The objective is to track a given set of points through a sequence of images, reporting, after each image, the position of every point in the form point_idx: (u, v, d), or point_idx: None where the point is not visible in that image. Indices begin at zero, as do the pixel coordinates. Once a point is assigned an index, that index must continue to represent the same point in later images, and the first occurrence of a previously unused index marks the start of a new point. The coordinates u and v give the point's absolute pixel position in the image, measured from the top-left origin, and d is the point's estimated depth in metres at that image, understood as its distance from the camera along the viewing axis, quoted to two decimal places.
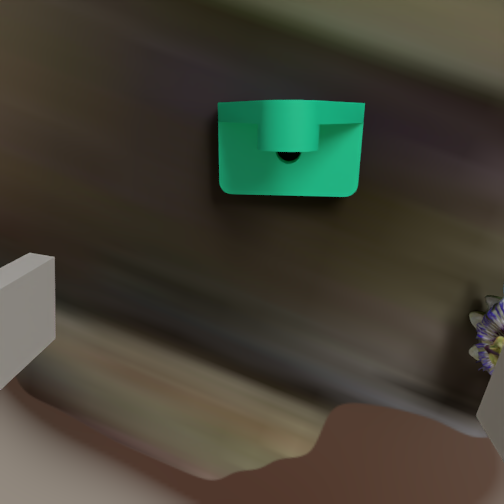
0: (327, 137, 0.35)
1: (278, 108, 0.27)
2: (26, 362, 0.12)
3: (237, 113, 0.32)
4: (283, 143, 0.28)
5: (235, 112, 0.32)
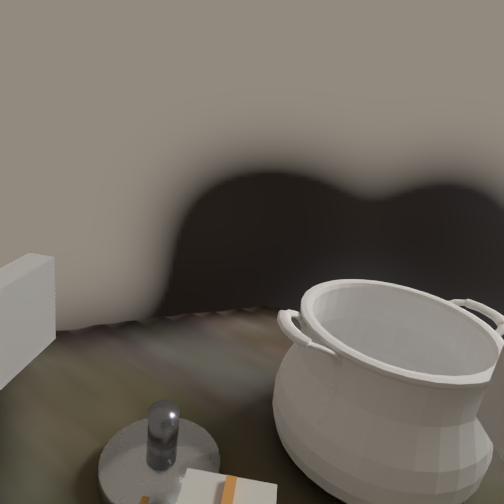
0: None
1: None
2: (26, 361, 0.12)
3: None
4: None
5: None
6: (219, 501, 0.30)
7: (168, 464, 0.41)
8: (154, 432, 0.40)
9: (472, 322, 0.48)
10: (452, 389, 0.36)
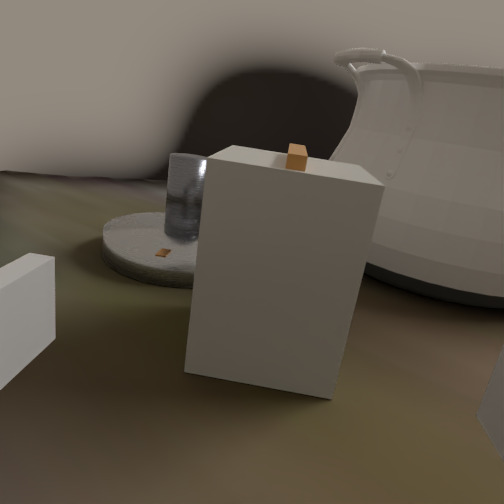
0: None
1: None
2: (26, 361, 0.12)
3: None
4: None
5: None
6: (283, 157, 0.21)
7: (193, 232, 0.32)
8: (177, 177, 0.30)
9: None
10: None
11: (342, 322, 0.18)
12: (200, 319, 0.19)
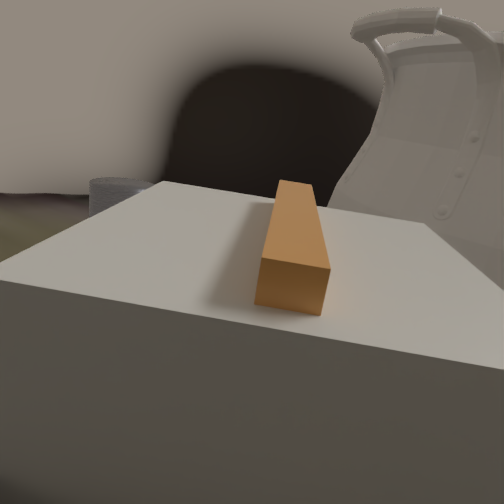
0: None
1: None
2: None
3: None
4: None
5: None
6: (264, 218, 0.09)
7: None
8: None
9: None
10: None
11: None
12: None
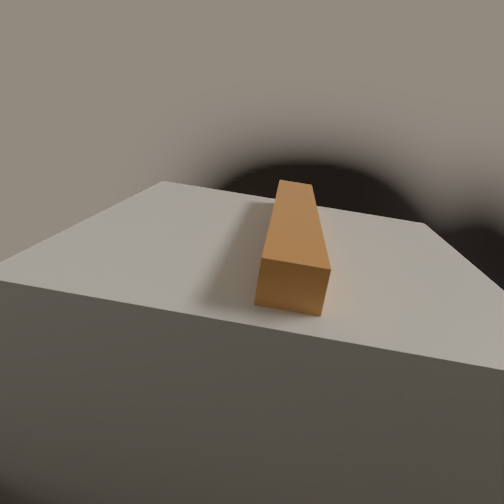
0: None
1: None
2: None
3: None
4: None
5: None
6: (264, 218, 0.09)
7: None
8: None
9: None
10: None
11: None
12: None
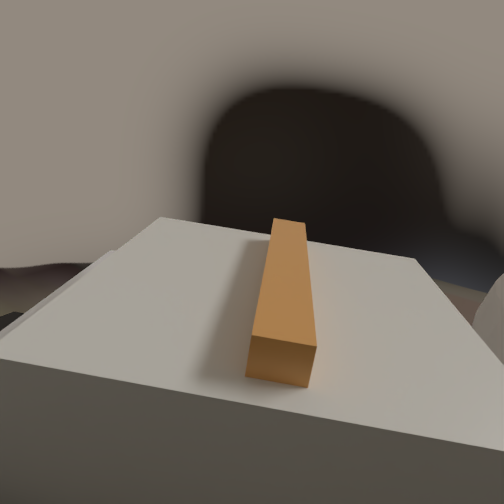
0: None
1: None
2: None
3: None
4: None
5: None
6: (257, 261, 0.09)
7: None
8: None
9: None
10: None
11: None
12: None
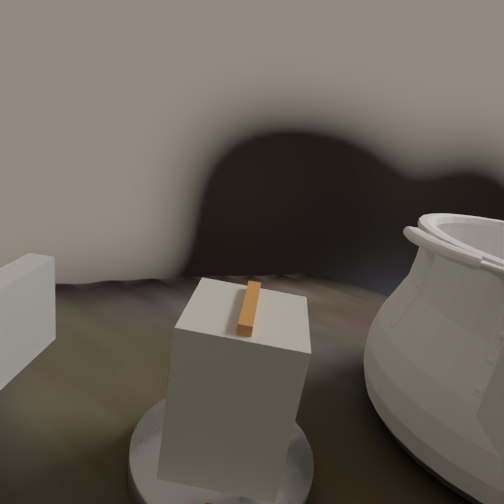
0: None
1: None
2: (26, 361, 0.12)
3: None
4: None
5: None
6: (241, 299, 0.26)
7: None
8: None
9: None
10: None
11: (281, 447, 0.23)
12: (169, 440, 0.23)
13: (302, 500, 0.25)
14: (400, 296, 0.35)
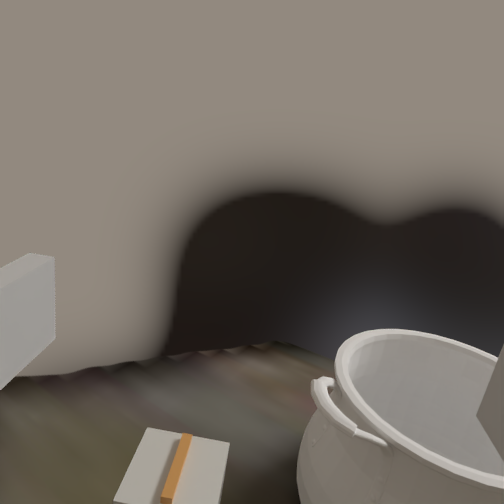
0: None
1: None
2: (26, 361, 0.12)
3: None
4: None
5: None
6: (174, 455, 0.33)
7: None
8: None
9: None
10: None
11: None
12: None
13: None
14: (322, 415, 0.42)
